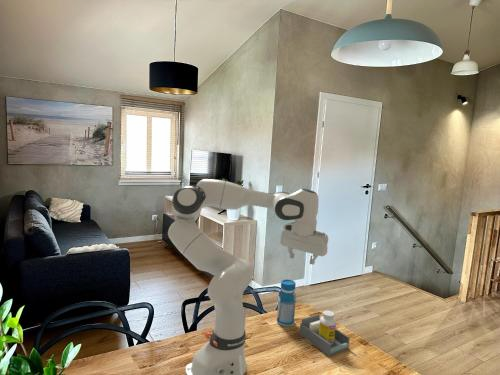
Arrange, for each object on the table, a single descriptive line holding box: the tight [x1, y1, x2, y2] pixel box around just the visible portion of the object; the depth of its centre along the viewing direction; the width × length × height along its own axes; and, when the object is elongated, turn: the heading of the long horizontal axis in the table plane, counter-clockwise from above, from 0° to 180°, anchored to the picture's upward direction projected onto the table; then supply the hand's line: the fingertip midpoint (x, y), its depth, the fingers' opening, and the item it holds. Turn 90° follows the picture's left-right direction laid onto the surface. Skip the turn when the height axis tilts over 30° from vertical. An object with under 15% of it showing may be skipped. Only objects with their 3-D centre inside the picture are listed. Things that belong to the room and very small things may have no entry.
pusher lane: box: [299, 313, 350, 357], centre depth 146 cm, size 12×18×7 cm, turn 33°
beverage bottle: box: [276, 279, 297, 327], centre depth 159 cm, size 8×8×20 cm
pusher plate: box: [309, 320, 320, 335], centre depth 149 cm, size 9×2×6 cm, turn 123°
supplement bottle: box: [319, 310, 337, 345], centre depth 143 cm, size 7×7×13 cm
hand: (301, 260), depth 140 cm, fingers open, 8 cm apart
